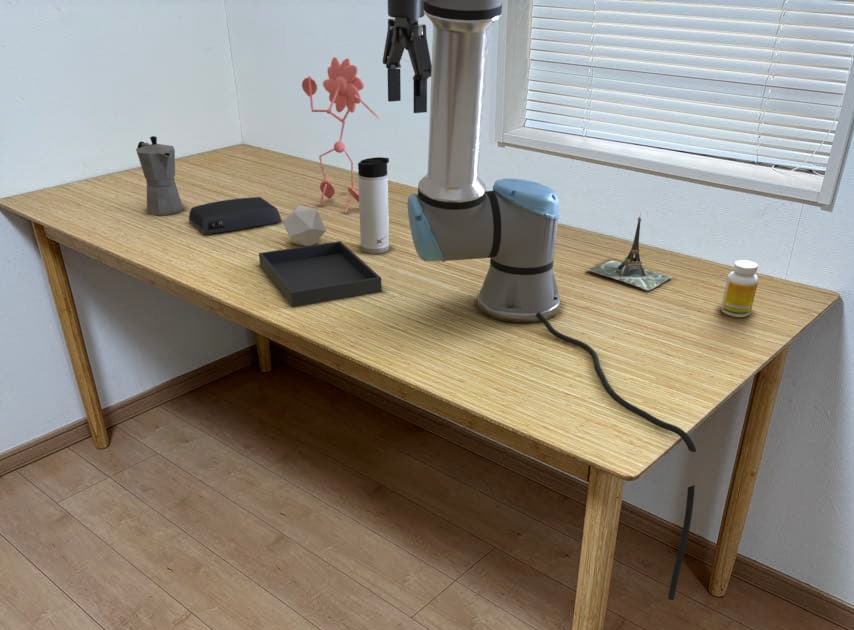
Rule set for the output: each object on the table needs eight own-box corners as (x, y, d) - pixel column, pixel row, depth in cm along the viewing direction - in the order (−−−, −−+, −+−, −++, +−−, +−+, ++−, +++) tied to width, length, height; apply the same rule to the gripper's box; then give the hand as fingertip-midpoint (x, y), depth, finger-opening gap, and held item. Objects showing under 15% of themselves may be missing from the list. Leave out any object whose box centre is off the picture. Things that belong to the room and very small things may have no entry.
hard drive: (187, 221, 193) (185, 204, 191) (263, 209, 202) (261, 193, 200) (204, 237, 184) (202, 219, 182) (283, 223, 192) (281, 207, 190)
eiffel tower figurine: (585, 272, 167) (592, 209, 160) (611, 260, 173) (619, 199, 166) (648, 292, 158) (659, 227, 151) (674, 278, 164) (685, 215, 157)
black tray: (381, 291, 157) (381, 277, 156) (292, 307, 151) (291, 292, 149) (341, 253, 175) (340, 240, 174) (260, 266, 169) (258, 252, 167)
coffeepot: (195, 212, 200) (184, 137, 190) (160, 220, 194) (147, 144, 185) (165, 198, 209) (153, 127, 200) (131, 206, 204) (117, 133, 194)
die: (334, 245, 182) (322, 203, 182) (320, 237, 173) (308, 193, 174) (300, 257, 184) (289, 215, 184) (285, 250, 175) (273, 206, 175)
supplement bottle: (716, 306, 153) (726, 258, 148) (744, 306, 152) (755, 258, 148) (725, 317, 148) (736, 269, 143) (754, 318, 148) (766, 269, 143)
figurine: (367, 221, 194) (361, 67, 176) (295, 200, 209) (283, 55, 191) (408, 206, 205) (407, 59, 187) (337, 188, 219) (330, 49, 201)
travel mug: (386, 255, 175) (384, 162, 164) (357, 253, 176) (353, 160, 165) (393, 245, 180) (392, 155, 170) (365, 243, 181) (362, 153, 171)
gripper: (451, -1, 151) (448, 116, 162) (398, -10, 171) (399, 95, 182) (414, 0, 148) (415, 119, 159) (365, -9, 168) (368, 97, 179)
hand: (406, 106), depth 170 cm, fingers open, 13 cm apart
